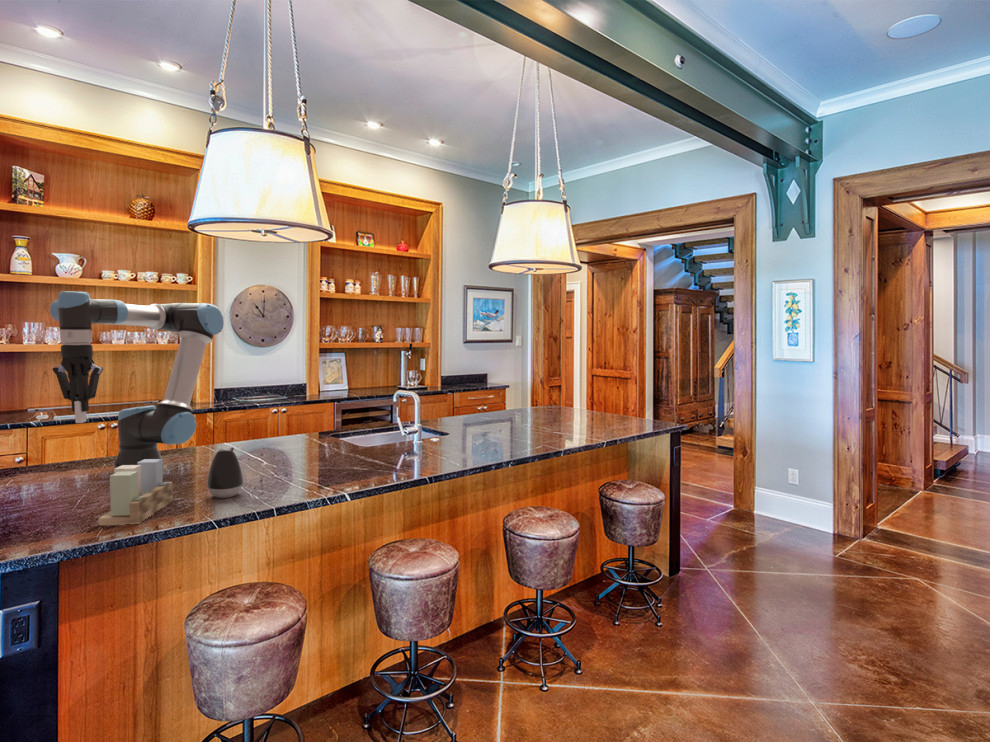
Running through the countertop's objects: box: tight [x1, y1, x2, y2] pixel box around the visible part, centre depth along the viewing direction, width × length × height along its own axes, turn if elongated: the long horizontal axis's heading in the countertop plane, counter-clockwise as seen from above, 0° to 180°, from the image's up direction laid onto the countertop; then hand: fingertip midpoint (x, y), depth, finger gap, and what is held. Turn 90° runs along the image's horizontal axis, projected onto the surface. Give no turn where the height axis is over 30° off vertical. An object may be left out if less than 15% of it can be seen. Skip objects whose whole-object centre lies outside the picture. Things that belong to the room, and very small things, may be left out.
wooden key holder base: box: [98, 481, 174, 526], centre depth 156 cm, size 20×10×6 cm, turn 7°
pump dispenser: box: [206, 447, 244, 499], centre depth 173 cm, size 10×10×15 cm
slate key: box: [137, 458, 164, 495], centre depth 163 cm, size 4×5×11 cm
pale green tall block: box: [109, 471, 138, 516], centre depth 149 cm, size 4×5×11 cm
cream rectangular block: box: [113, 465, 142, 497], centre depth 155 cm, size 4×5×11 cm
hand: (81, 422), depth 164 cm, fingers closed
